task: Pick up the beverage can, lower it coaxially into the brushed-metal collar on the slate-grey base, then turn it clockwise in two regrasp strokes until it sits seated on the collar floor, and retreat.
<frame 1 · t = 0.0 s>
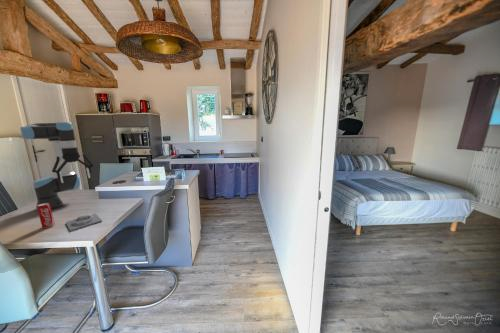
hand: (76, 180, 132), 28 cm above the table, fingers open, 13 cm apart
beverage can: (48, 226, 130), on the table
collar: (83, 219, 133), on the seat plate, point 1 cm above the table
seat plate: (84, 222, 134), on the table
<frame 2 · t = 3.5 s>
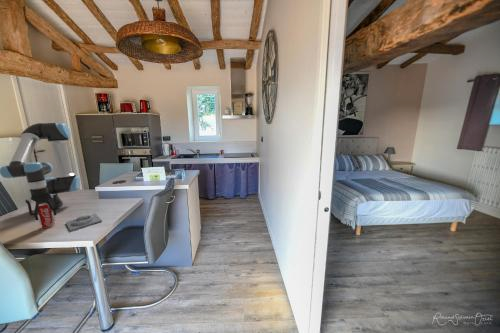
hand: (47, 222, 129), 3 cm above the table, fingers closed on beverage can, 6 cm apart
beverage can: (48, 226, 130), on the table, touching gripper
when the fingers open (4 cm above the table, at t = 9.3 s): beverage can stays where it is, resting on seat plate.
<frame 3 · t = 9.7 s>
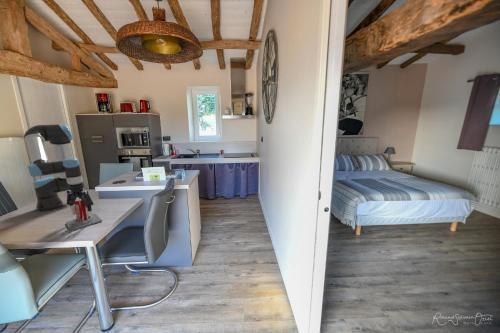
hand: (82, 215, 132), 5 cm above the table, fingers open, 11 cm apart
beverage can: (83, 221, 133), point 1 cm above the table, touching seat plate
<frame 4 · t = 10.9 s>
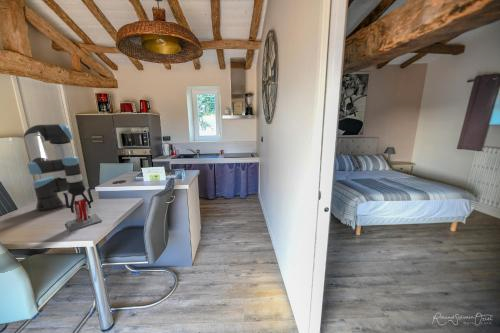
hand: (82, 214, 132), 5 cm above the table
beverage can: (83, 221, 133), point 1 cm above the table, touching gripper
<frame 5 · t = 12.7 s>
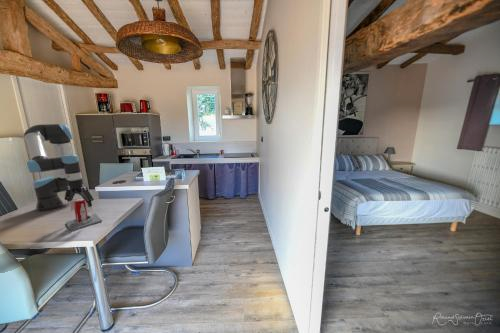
hand: (81, 210, 132), 8 cm above the table, fingers open, 13 cm apart
beverage can: (83, 221, 133), point 1 cm above the table, touching seat plate
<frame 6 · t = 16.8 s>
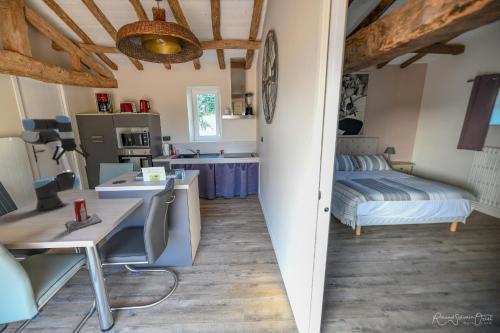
hand: (73, 167, 148), 33 cm above the table, fingers open, 13 cm apart
nothing on the table moved.
at the end: beverage can 0.4 cm from the collar (horizontally); beverage can tilted 0°; the gripper is holding nothing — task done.
